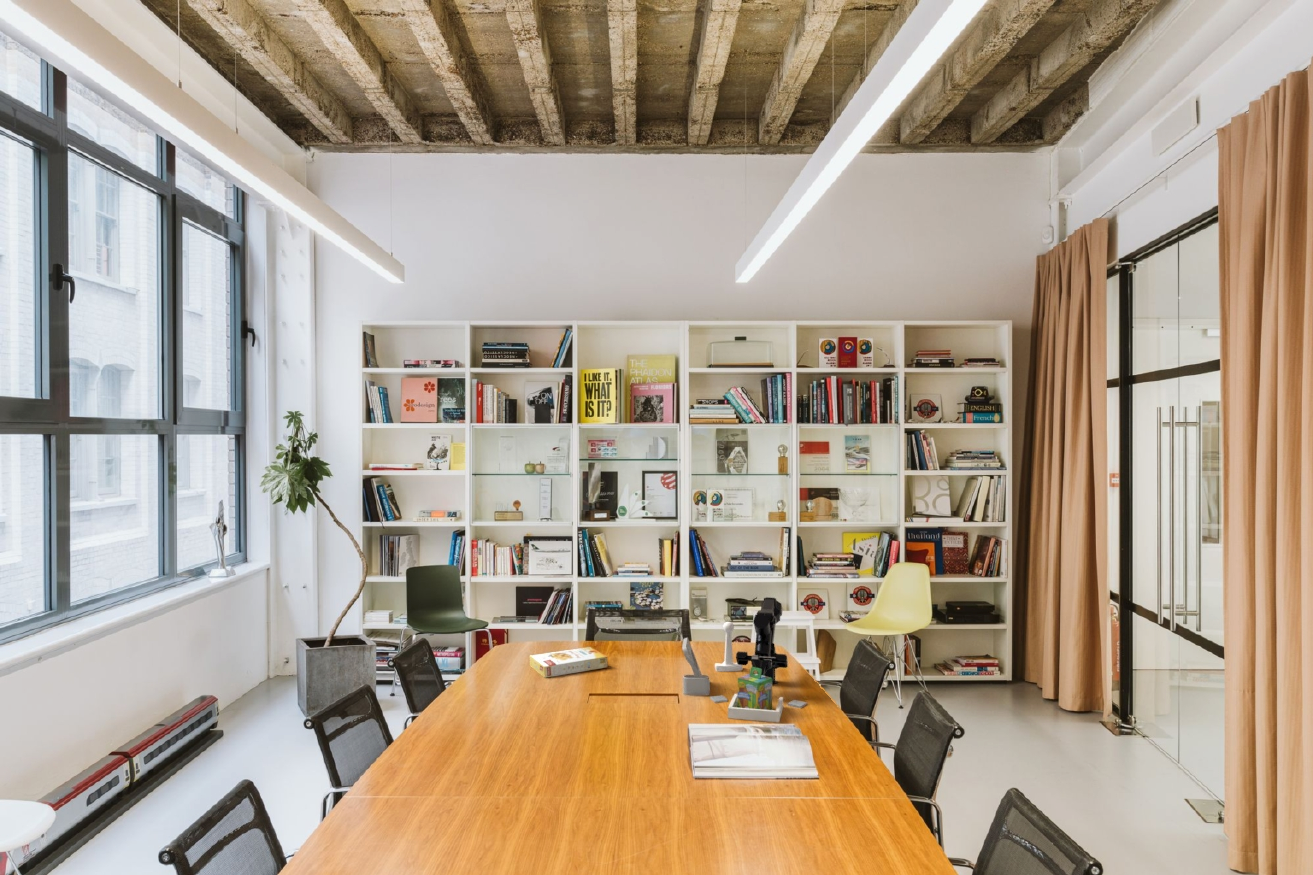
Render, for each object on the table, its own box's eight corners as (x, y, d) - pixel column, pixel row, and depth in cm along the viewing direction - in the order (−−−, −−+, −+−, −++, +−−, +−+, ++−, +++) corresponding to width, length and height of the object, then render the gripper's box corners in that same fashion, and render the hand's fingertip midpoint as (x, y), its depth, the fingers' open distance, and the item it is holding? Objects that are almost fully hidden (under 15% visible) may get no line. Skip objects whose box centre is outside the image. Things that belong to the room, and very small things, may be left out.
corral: (734, 703, 278) (734, 693, 278) (783, 707, 274) (783, 697, 274) (727, 718, 263) (727, 707, 263) (779, 722, 259) (779, 711, 259)
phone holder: (709, 695, 287) (709, 647, 287) (682, 695, 288) (681, 647, 288) (709, 681, 304) (709, 635, 304) (684, 680, 305) (683, 635, 305)
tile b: (722, 698, 285) (722, 695, 285) (727, 702, 280) (727, 699, 280) (709, 699, 284) (709, 696, 284) (715, 704, 279) (715, 700, 279)
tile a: (794, 703, 280) (794, 699, 280) (806, 705, 276) (806, 702, 276) (787, 706, 276) (787, 703, 276) (800, 709, 272) (800, 706, 272)
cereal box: (608, 655, 323) (544, 665, 309) (608, 668, 322) (544, 678, 309) (589, 645, 340) (528, 653, 327) (589, 657, 340) (528, 667, 327)
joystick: (716, 671, 316) (715, 623, 316) (713, 666, 324) (713, 618, 324) (743, 671, 317) (742, 622, 317) (739, 665, 324) (739, 618, 324)
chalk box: (736, 710, 271) (736, 668, 271) (751, 704, 277) (751, 663, 277) (758, 716, 264) (758, 673, 264) (773, 709, 271) (773, 667, 271)
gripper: (789, 654, 294) (787, 692, 284) (741, 651, 299) (737, 689, 289) (787, 639, 287) (785, 678, 276) (737, 636, 291) (733, 675, 281)
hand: (760, 680), depth 281 cm, fingers closed
